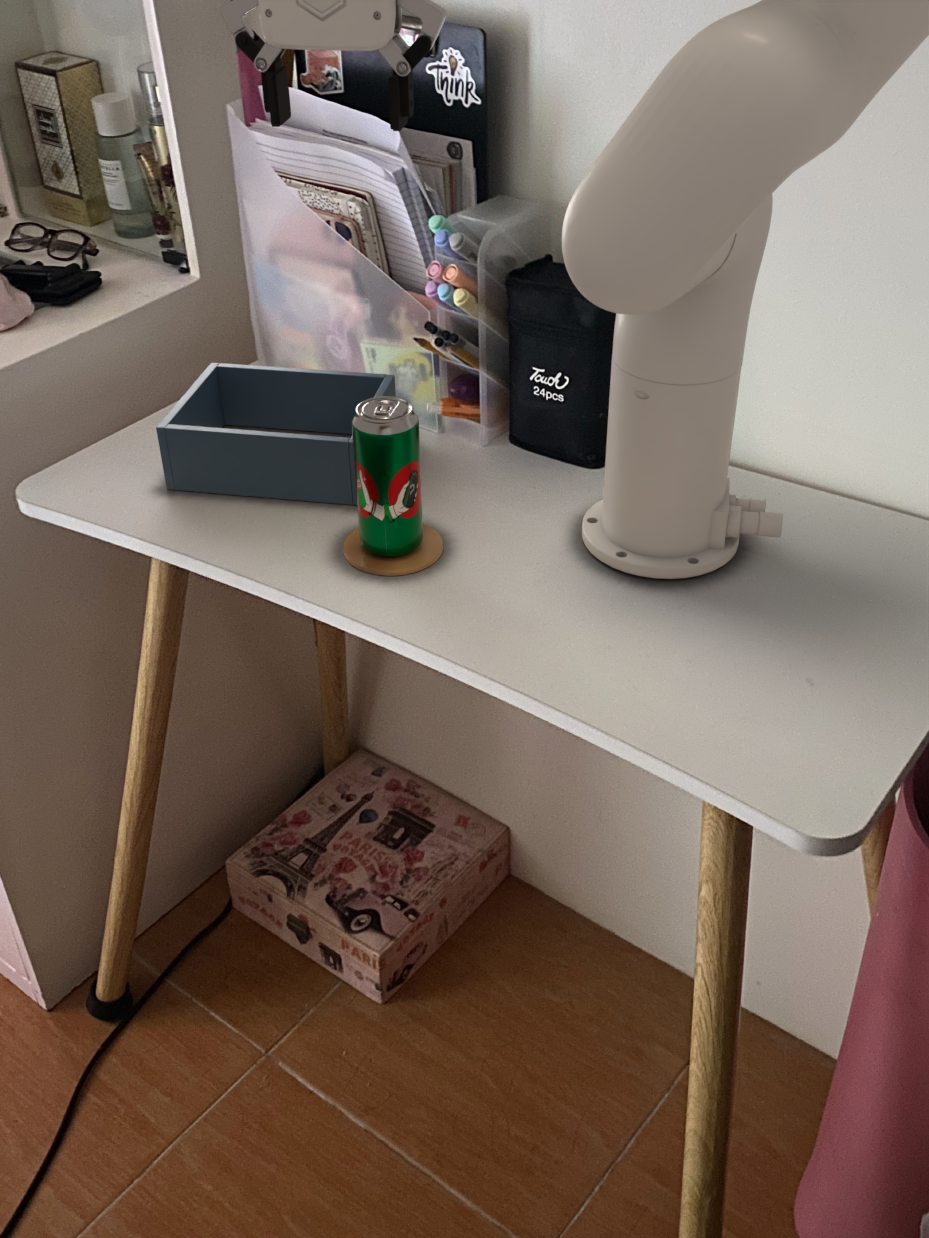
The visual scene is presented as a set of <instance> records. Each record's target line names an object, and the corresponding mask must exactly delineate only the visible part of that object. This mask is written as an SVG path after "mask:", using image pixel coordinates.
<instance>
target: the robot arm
mask: <svg viewBox="0 0 929 1238" xmlns="http://www.w3.org/2000/svg"><path fill="white" fill-rule="evenodd" d="M257 7H258V15H259V22H260V23H259V25H260V31H261V35H262V37H260V36H259V34H258V33H257V32H256V31H255V30H254V29H252V27H251V25H250V22H249V20H248V14H249V13H250V12H251V11H253V10H254V9H256V8H257ZM402 9H403V10H405V11H406V12H408V13H410V14H412V15H413V16H415V17H417V18H418V19H419V20H420V21H421V29H420V32H419V34H418V36H417V37H416V39H415V40H414V42H413V43H412V44H411V45H410V46H409V45H408V43H407V42H406V41H405V39H404V38H403V37H402V36H401V34H400V33H401V30H402V26H403V25H402V23H403V10H402ZM220 15H221V18H222V19H223V21H224V23H225V24H226V26H227V28H228V30H229V32H230V33H231V35H232V36H233V37H234V41H235V44H236V46H237V47H238V49H239V50H240V51H242V52H243V54H244V55H245V56H246V57H247V58H248V59H249V60H250V61H251V62H252V63H253V66H254V69H255V70H256V71H257V72H259V73H260V79H261V88H262V97H263V108H264V111H265V113H266V114H269V117H270V124H271V127H273V128H280V127H281V126H282V125H284V124H285V123H286V122H288V121H289V120H290V119H291V118H292V108H291V97H290V85H289V74H288V73H289V72H288V67H286V65H285V64H282V57H283V56H284V54H285V53H286V51H288V50H298V51H299V50H302V51H333V52H334V51H335V52H336V51H337V52H338V51H339V52H340V51H341V52H342V51H343V52H371V51H376V50H378V52H379V53H380V54H381V56H382V57H383V58H384V60H385V61H386V62H387V64H388V65H389V66H390V67H391V69H392V74H391V75H390V76H389V77H388V80H387V82H388V83H387V84H388V85H387V86H388V106H389V107H388V109H389V126H390V128H389V129H390V130H392V131H393V132H401V131H402V130H403V129H404V127H405V126H406V125H407V124H408V120H409V118H412V117H414V113H415V112H414V111H415V110H414V109H415V104H414V102H415V101H414V99H415V98H414V73H413V72H414V71H413V70H414V69H415V68H416V67H417V66H418V65H419V63H420V62H421V61H422V60H424V58H425V57H426V56H427V55H428V53H429V52H430V51H431V50H432V49H433V48H434V46H435V42H436V41H437V39H438V37H439V35H440V32H441V30H442V28H443V26H444V23H445V21H446V19H447V11H446V9H445V8H444V7H442V6H441V5H439V4H437V2H434V1H433V0H231V1H229V2H228V3H226V4H224V5H222V7H221V9H220ZM928 37H929V0H760V1H758V2H756V3H754V4H752V5H749V6H748V7H745V8H742V9H740V10H737V11H735V12H733V13H729V14H727V15H725V16H723V17H721V18H719V19H718V20H716V21H715V20H714V22H712V23H710V24H708V25H707V26H705V27H704V28H703V29H701V30H700V31H699V32H697V33H696V34H695V35H694V36H692V38H690V40H689V41H687V42H686V43H685V44H684V45H683V46H682V47H681V48H680V49H679V51H677V52H676V53H675V54H674V56H673V57H672V58H671V59H670V60H669V61H668V62H667V64H666V65H665V66H664V68H662V70H661V71H660V73H659V74H658V75H657V77H656V78H655V79H654V80H653V82H652V83H651V85H650V86H649V87H648V89H646V92H645V93H644V94H643V96H642V97H641V98H640V100H639V101H638V102H637V104H636V105H635V106H634V108H633V109H632V110H631V112H630V113H629V115H628V116H627V117H626V118H625V120H624V122H623V123H622V124H621V126H619V128H618V130H617V131H616V132H615V134H614V135H613V136H612V138H611V139H610V140H609V142H608V143H607V145H606V146H605V147H604V149H603V150H602V151H601V153H600V154H599V155H598V157H597V158H596V160H595V161H594V162H593V163H592V165H591V166H590V168H589V169H588V170H587V172H586V173H585V174H584V176H583V178H582V179H581V181H580V183H579V184H578V186H577V187H576V189H575V190H574V192H573V194H572V197H571V198H570V200H569V202H568V205H567V207H566V211H565V213H564V216H563V221H562V229H561V252H562V259H563V262H564V266H565V270H566V272H567V274H568V276H569V278H570V280H571V282H572V284H573V285H574V286H575V288H576V290H577V291H578V292H579V293H580V294H581V296H583V297H584V298H585V299H586V300H587V301H589V302H590V303H592V304H593V305H594V306H596V307H598V308H600V309H602V310H604V311H607V312H610V313H613V314H615V321H614V329H613V341H612V353H611V365H610V381H609V382H610V383H609V384H610V385H609V397H608V414H607V415H608V416H607V428H606V431H607V432H606V443H605V459H604V460H605V461H604V475H603V476H604V479H603V490H602V493H603V494H602V498H601V499H600V500H598V501H597V502H595V503H593V504H592V505H591V506H590V507H589V508H588V510H586V512H585V514H584V516H583V518H582V523H581V524H582V525H581V539H582V541H583V544H584V546H585V548H586V549H587V550H588V551H589V553H590V554H591V555H592V556H594V557H595V558H596V559H598V560H599V561H600V562H602V563H603V564H606V565H607V566H609V567H611V568H612V569H615V570H618V571H620V572H623V573H626V574H629V575H633V576H638V577H643V578H650V579H659V580H677V579H688V578H694V577H699V576H702V575H706V574H709V573H712V572H714V571H716V570H717V569H719V568H721V567H723V566H725V565H726V564H727V563H729V562H730V561H731V560H732V559H733V558H734V556H735V554H736V553H737V551H738V548H739V543H740V534H743V535H756V537H768V538H781V535H782V529H783V522H784V521H783V519H784V516H783V514H784V513H783V512H771V511H766V508H767V507H766V506H767V500H766V499H761V498H751V497H750V498H740V497H739V498H738V497H737V494H734V493H733V494H732V493H730V477H728V475H729V467H730V459H731V452H732V443H733V436H734V428H735V420H736V413H737V407H738V406H737V405H738V397H739V390H740V381H741V376H742V375H741V373H742V366H743V362H744V355H745V353H744V352H745V347H746V341H747V334H748V333H747V332H748V326H749V321H750V320H749V319H750V313H751V307H752V303H753V299H754V293H755V290H756V289H755V288H756V286H757V285H756V284H757V281H758V278H759V277H758V276H759V273H760V269H761V265H762V261H763V256H764V253H765V249H766V245H767V242H768V237H769V233H770V229H771V221H772V217H773V216H772V215H773V193H774V192H775V191H776V190H777V189H778V188H779V187H780V186H781V185H782V184H783V183H784V182H785V181H786V180H787V179H788V178H789V177H790V176H791V175H793V174H794V173H795V172H796V171H797V170H799V169H801V168H802V167H804V166H806V164H808V163H809V162H811V161H812V160H814V159H815V158H817V157H818V156H819V155H821V154H823V153H824V152H825V151H827V150H828V149H830V148H831V147H832V146H834V145H836V143H838V142H839V140H840V139H842V138H843V136H845V134H846V133H847V132H848V131H849V129H850V128H851V127H852V126H853V125H854V123H855V122H856V121H857V119H858V118H859V117H860V115H862V113H863V112H864V111H865V110H866V108H867V106H868V105H869V104H870V103H871V102H872V101H873V99H874V98H875V97H876V95H878V94H879V92H880V91H881V90H882V89H883V87H884V86H886V84H887V83H888V81H890V80H891V78H892V77H893V76H894V75H895V74H896V73H897V72H898V71H899V70H900V68H901V67H902V66H903V65H904V64H905V63H906V61H907V60H909V58H910V57H911V56H912V55H913V54H914V52H915V51H916V50H917V49H918V48H919V47H920V46H921V44H922V43H923V42H924V41H925V40H926V39H927V38H928ZM262 38H263V39H264V40H263V39H262Z"/></svg>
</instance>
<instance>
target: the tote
mask: <svg viewBox="0 0 929 1238" xmlns="http://www.w3.org/2000/svg"><path fill="white" fill-rule="evenodd" d="M395 376H396V375H394V374H386V373H372V372H360V371H359V372H358V371H357V372H356V371H345V370H344V371H341V370H328V369H315V368H314V369H311V368H300V367H299V368H298V367H297V368H296V367H282V366H267V365H266V366H265V365H252V364H240V363H239V364H238V363H236V364H235V363H225V362H224V363H223V362H210V364H209V365H208V366H207V367H206V368H205V370H204V371H203V372H202V373H201V374H200V375H199V377H197V379H196V380H195V381H194V382H193V383H192V385H191V386H190V387H189V388H188V389H187V391H185V393H184V394H183V395H182V396H181V398H180V399H179V400H178V401H177V402H176V403H175V405H174V406H173V407H172V408H171V409H170V411H169V412H168V413H167V414H166V415H165V416H164V418H163V419H162V420H161V421H160V422H159V423H158V424H157V425H156V427H155V429H156V430H155V431H156V436H157V441H158V447H159V453H160V458H161V464H162V469H163V476H164V482H165V487H166V490H171V491H172V490H173V491H182V492H195V493H204V494H205V493H207V494H219V495H231V496H242V497H251V498H252V497H253V498H265V499H278V500H290V501H300V502H313V503H324V504H325V503H326V504H337V505H347V506H349V505H350V506H357V492H356V478H355V464H354V450H353V436H352V420H353V418H354V416H355V415H356V407H357V406H358V405H359V404H360V403H361V402H363V401H364V400H367V399H370V398H374V397H381V396H393V397H397V396H396V395H397V394H396V377H395ZM225 425H226V426H237V427H251V428H265V429H278V430H289V431H303V432H304V431H305V432H317V433H328V434H329V433H330V434H342V435H345V434H346V435H351V437H345V436H344V437H343V436H331V435H319V434H318V435H317V434H305V433H290V432H288V433H287V432H280V431H279V432H278V431H266V430H253V429H252V430H251V429H238V428H226V427H225V428H224V426H225Z"/></svg>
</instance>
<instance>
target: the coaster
mask: <svg viewBox="0 0 929 1238" xmlns="http://www.w3.org/2000/svg"><path fill="white" fill-rule="evenodd" d="M342 548H343V555H344V558H345V560H346V561H347V562H348V563H349V564H350V565H351V566H352V567H353V568H356V569H357V570H359V571H362V572H364V573H367V574H370V575H376V576H386V577H392V576H393V577H394V576H405V575H411V574H415V573H417V572H420V571H422V570H425V569H427V568H428V567H431V566H432V565H434V564H435V563H436V562H437V561H438V560H439V558H440V557H441V556H442V554H443V550H444V541H443V538H442V536H441V534H440V533H439V532H438V531H437V530H436V529H434V528H433V527H432V526H430V525H428V524H425V523H423V540H422V542H421V544H420V545H419V546H418V548H416V549H415V550H414V551H413V552H412V553H410V554H408V555H405V556H402V557H397V558H383V557H378V556H375V555H373V554H371V553H370V552H368V551H367V550H366V549H365V548H364V547H363V546H362V545H361V543H360V534H359V527H358V528H356V529H354V530H353V531H352V532H350V533H349V534H348V536H346V538H345V540H344V543H343V547H342Z"/></svg>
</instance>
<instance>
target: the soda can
mask: <svg viewBox="0 0 929 1238" xmlns="http://www.w3.org/2000/svg"><path fill="white" fill-rule="evenodd" d="M414 408H415V407H414V405H413V404H412V402H410V401H409V400H408V399H405V398H403V397H399V396H396V397H393V396H381V397H374V398H370V399H367V400H364V401H363V402H361V403H360V404H359V405H358V406H357V407H356V415H355V416H354V418H353V420H352V434H351V437H352V436H353V450H354V464H355V478H356V492H357V505H356V507H357V518H358V520H357V521H358V528H359V534H360V543H361V545H362V546H363V547H364V548H365V549H366V550H367V551H368V552H370V553H371V554H373V555H375V556H378V557H383V558H397V557H402V556H405V555H408V554H410V553H412V552H413V551H414V550H415V549H416V548H418V546H419V545H420V544H421V542H422V540H423V524H424V523H423V499H422V497H423V496H422V473H421V472H422V471H421V442H420V420H419V416H418V415H417V414H416V412H415V411H414Z"/></svg>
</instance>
